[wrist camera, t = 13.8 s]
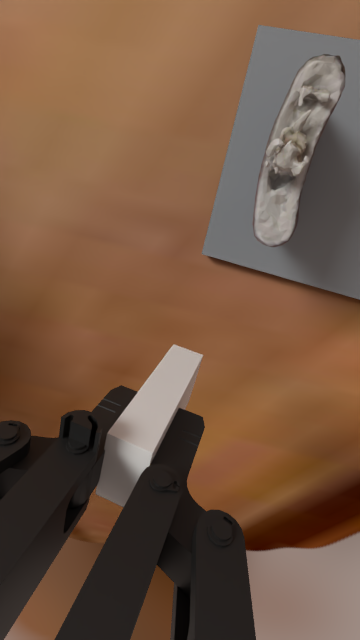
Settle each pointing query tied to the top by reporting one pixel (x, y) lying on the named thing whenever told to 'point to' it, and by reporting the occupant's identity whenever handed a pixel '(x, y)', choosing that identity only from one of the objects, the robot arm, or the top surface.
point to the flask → (295, 147)
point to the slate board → (321, 180)
